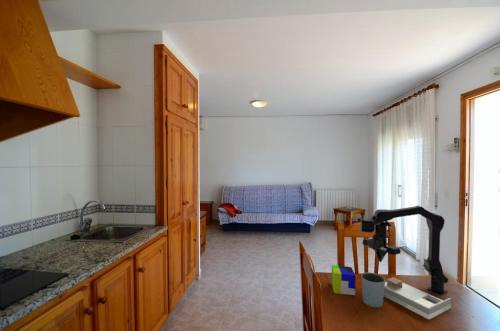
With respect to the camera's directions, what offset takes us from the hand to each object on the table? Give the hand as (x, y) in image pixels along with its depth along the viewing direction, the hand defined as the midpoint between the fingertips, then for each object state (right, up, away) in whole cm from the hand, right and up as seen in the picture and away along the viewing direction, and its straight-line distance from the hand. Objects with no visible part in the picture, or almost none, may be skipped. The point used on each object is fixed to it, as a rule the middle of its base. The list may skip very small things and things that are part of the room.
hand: (380, 261), depth 133 cm
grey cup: (-13, -12, -18) cm, 26 cm away
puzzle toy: (-23, -12, -6) cm, 26 cm away
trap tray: (+6, -12, -15) cm, 20 cm away
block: (+4, -10, -7) cm, 13 cm away
